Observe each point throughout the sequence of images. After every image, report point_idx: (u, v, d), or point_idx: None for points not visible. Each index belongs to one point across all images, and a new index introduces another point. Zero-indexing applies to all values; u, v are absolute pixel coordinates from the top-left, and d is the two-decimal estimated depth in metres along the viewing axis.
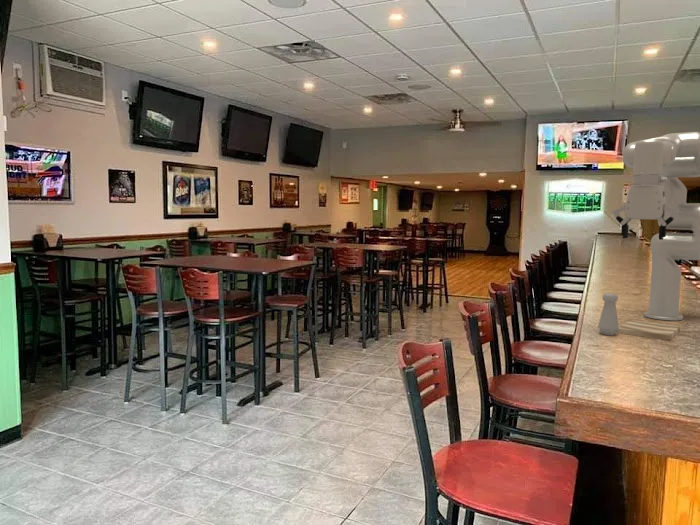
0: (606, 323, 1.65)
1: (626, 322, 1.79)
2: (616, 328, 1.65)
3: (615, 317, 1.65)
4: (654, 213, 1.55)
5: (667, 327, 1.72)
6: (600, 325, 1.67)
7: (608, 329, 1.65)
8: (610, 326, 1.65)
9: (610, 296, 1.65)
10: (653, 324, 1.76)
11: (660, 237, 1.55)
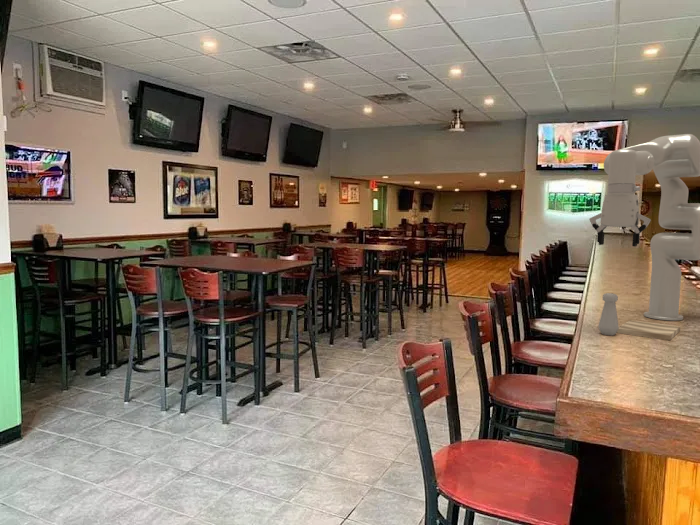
0: (606, 323, 1.65)
1: (626, 322, 1.79)
2: (616, 328, 1.65)
3: (615, 317, 1.65)
4: (628, 221, 1.61)
5: (667, 327, 1.72)
6: (600, 325, 1.67)
7: (608, 329, 1.65)
8: (610, 326, 1.65)
9: (610, 296, 1.65)
10: (653, 324, 1.76)
11: (634, 244, 1.61)
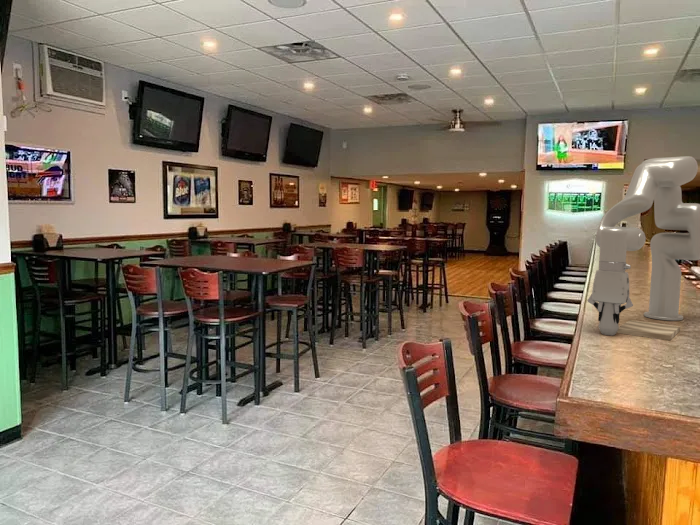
0: (606, 323, 1.65)
1: (626, 322, 1.79)
2: (616, 328, 1.65)
3: None
4: (618, 298, 1.63)
5: (667, 327, 1.72)
6: (600, 325, 1.67)
7: (608, 329, 1.65)
8: (610, 326, 1.65)
9: None
10: (653, 324, 1.76)
11: None
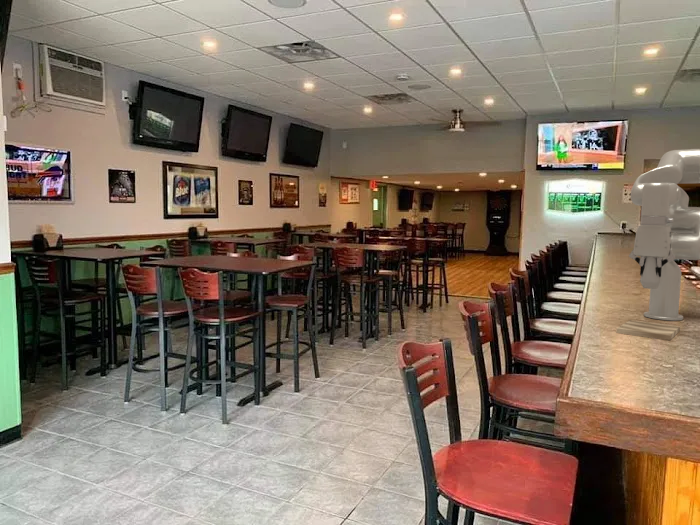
0: (649, 277, 1.68)
1: (626, 322, 1.79)
2: (658, 281, 1.68)
3: None
4: (661, 252, 1.66)
5: (667, 327, 1.72)
6: (642, 279, 1.70)
7: (650, 282, 1.68)
8: (652, 280, 1.68)
9: None
10: (653, 324, 1.76)
11: None
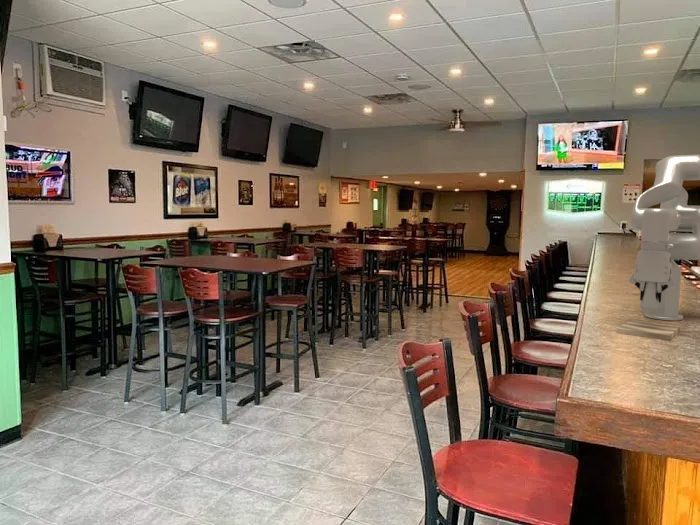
0: (649, 302, 1.69)
1: (626, 322, 1.79)
2: (658, 307, 1.68)
3: None
4: (661, 277, 1.66)
5: (667, 327, 1.72)
6: (642, 304, 1.70)
7: (651, 307, 1.68)
8: (652, 305, 1.68)
9: None
10: (653, 324, 1.76)
11: None
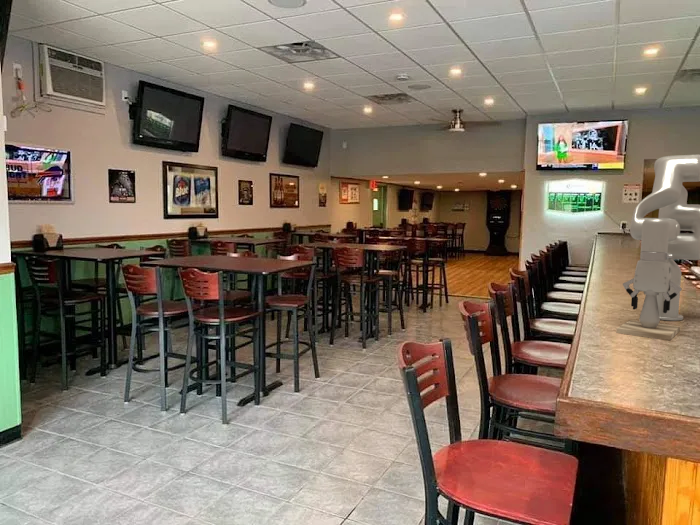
0: (648, 317, 1.69)
1: (626, 322, 1.79)
2: (658, 321, 1.69)
3: (656, 310, 1.69)
4: (661, 287, 1.67)
5: (667, 327, 1.72)
6: (641, 318, 1.71)
7: (650, 322, 1.69)
8: (651, 319, 1.69)
9: (652, 290, 1.68)
10: None
11: (664, 311, 1.67)
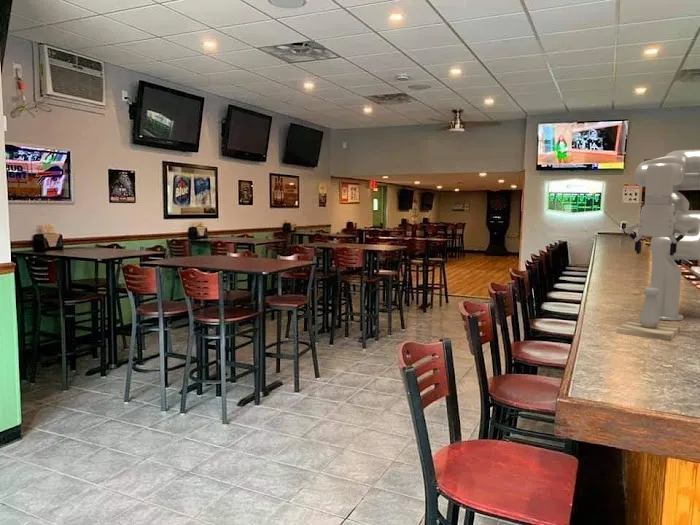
0: (648, 317, 1.69)
1: (626, 322, 1.79)
2: (658, 321, 1.69)
3: (657, 310, 1.69)
4: (665, 231, 1.68)
5: (667, 327, 1.72)
6: (641, 318, 1.71)
7: (650, 322, 1.69)
8: (651, 319, 1.69)
9: (652, 290, 1.69)
10: None
11: (671, 253, 1.68)
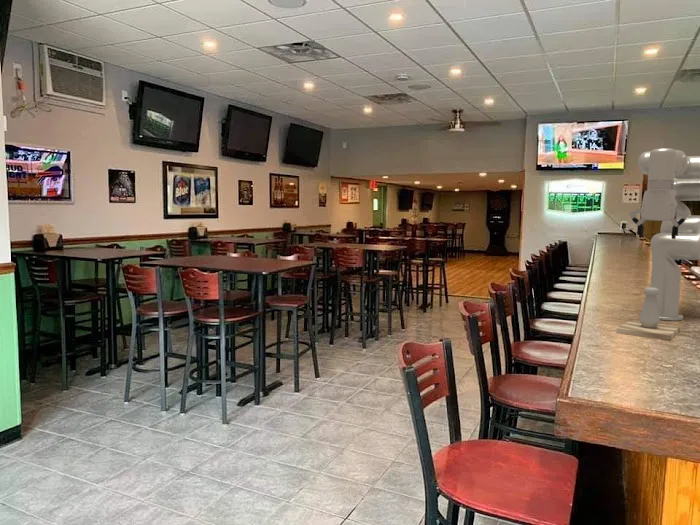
0: (648, 317, 1.69)
1: (626, 322, 1.79)
2: (658, 321, 1.69)
3: (657, 310, 1.69)
4: (667, 215, 1.72)
5: (667, 327, 1.72)
6: (641, 318, 1.71)
7: (650, 322, 1.69)
8: (651, 319, 1.69)
9: (652, 290, 1.69)
10: None
11: (673, 236, 1.72)
